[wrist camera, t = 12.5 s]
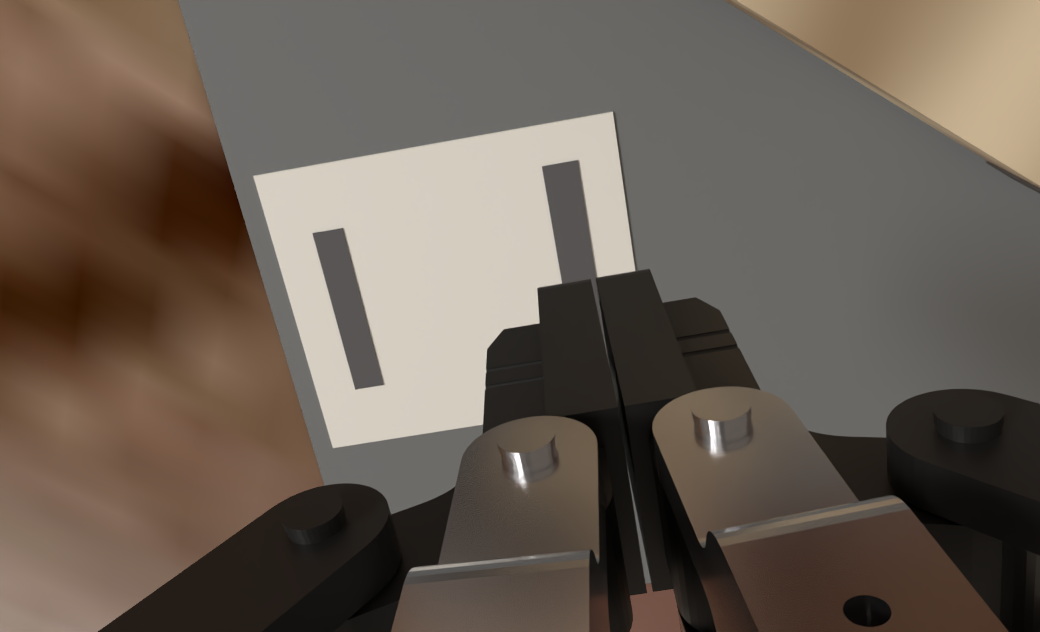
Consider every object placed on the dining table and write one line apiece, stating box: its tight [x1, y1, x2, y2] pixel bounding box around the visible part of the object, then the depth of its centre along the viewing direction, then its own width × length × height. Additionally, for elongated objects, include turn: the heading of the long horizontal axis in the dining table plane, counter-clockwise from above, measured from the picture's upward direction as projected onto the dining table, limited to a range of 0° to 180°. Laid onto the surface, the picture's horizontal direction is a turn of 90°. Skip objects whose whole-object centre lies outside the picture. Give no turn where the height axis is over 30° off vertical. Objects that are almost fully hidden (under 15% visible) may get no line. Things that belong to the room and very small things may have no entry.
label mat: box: [178, 0, 1040, 584], centre depth 20 cm, size 24×28×1 cm
